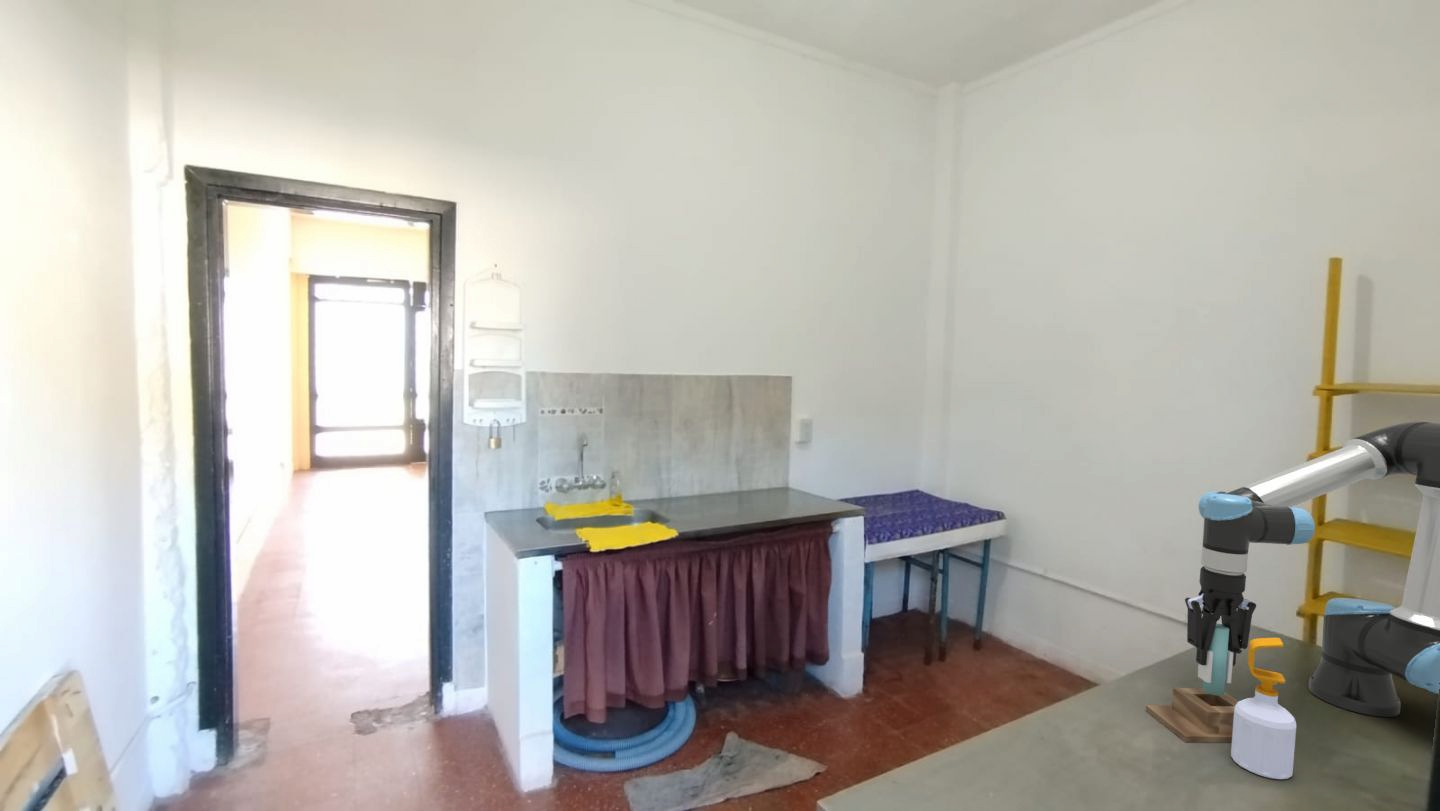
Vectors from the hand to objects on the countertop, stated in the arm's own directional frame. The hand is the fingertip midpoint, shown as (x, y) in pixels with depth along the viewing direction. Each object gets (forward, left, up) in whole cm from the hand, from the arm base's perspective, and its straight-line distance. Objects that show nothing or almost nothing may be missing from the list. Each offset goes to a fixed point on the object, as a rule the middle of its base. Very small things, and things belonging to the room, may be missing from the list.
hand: (1214, 679), depth 138 cm
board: (0, 0, -10) cm, 10 cm away
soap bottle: (+1, +14, -10) cm, 17 cm away
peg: (0, 0, -3) cm, 3 cm away
